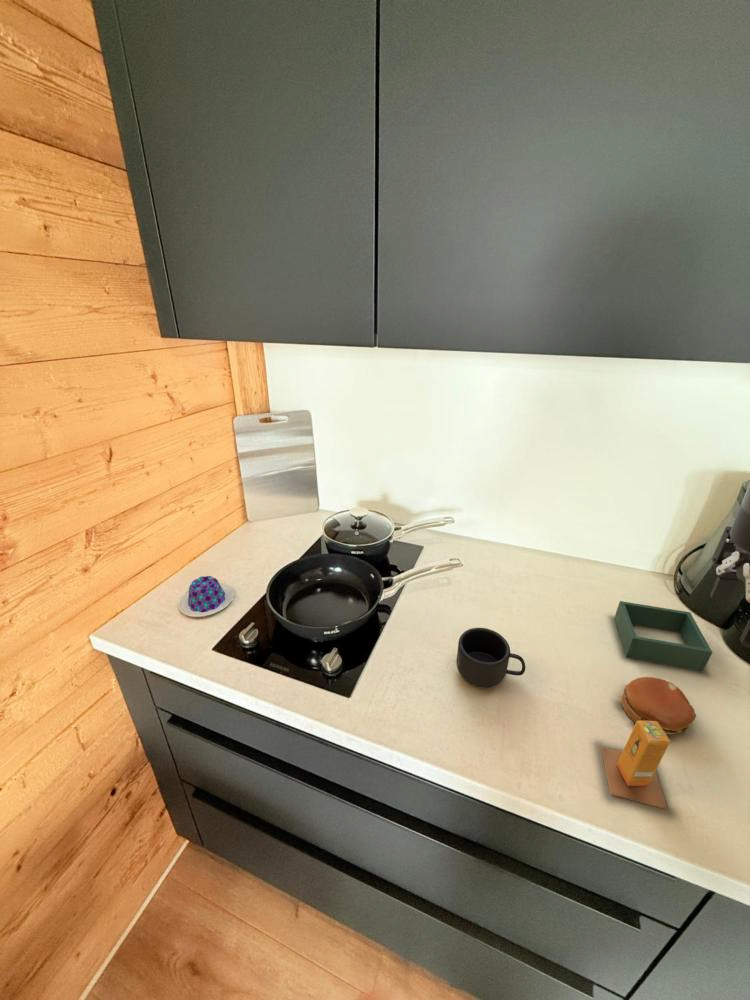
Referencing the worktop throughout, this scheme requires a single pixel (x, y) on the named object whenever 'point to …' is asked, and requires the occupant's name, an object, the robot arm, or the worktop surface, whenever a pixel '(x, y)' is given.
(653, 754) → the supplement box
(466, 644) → the mug
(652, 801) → the coaster
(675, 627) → the basket
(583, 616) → the worktop surface
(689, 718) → the burger
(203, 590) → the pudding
